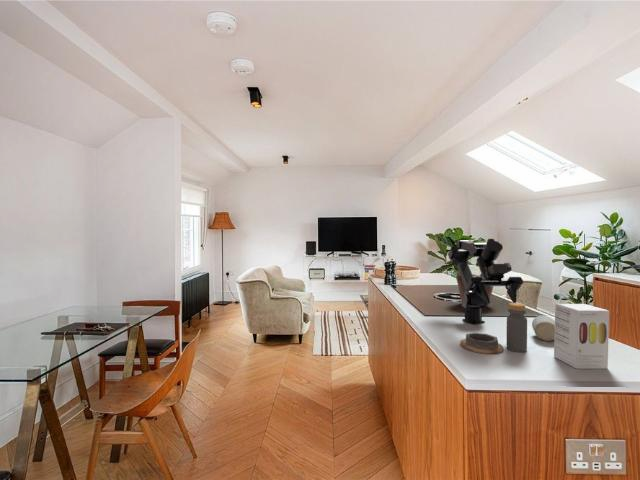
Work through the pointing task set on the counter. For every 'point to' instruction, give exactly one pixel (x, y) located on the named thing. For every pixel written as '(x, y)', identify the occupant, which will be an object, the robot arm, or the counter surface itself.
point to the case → (462, 289)
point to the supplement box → (581, 335)
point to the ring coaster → (495, 351)
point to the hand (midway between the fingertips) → (502, 303)
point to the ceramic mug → (544, 327)
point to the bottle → (517, 328)
